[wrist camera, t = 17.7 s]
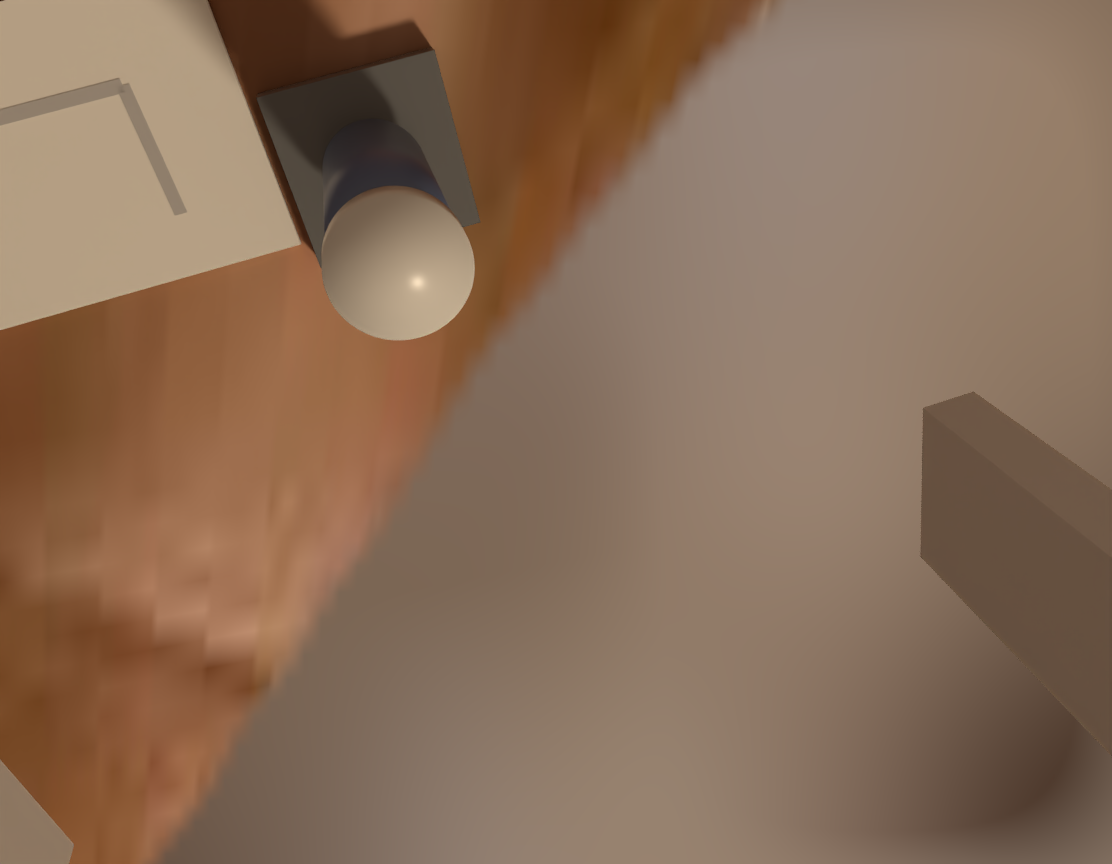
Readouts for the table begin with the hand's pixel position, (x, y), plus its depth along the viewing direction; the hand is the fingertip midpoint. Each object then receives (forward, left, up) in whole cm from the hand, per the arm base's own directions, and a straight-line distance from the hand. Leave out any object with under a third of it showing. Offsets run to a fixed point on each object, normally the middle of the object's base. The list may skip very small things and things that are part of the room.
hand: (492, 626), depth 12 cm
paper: (-12, +3, -29) cm, 31 cm away
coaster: (0, 0, -29) cm, 29 cm away
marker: (0, 0, -28) cm, 28 cm away
